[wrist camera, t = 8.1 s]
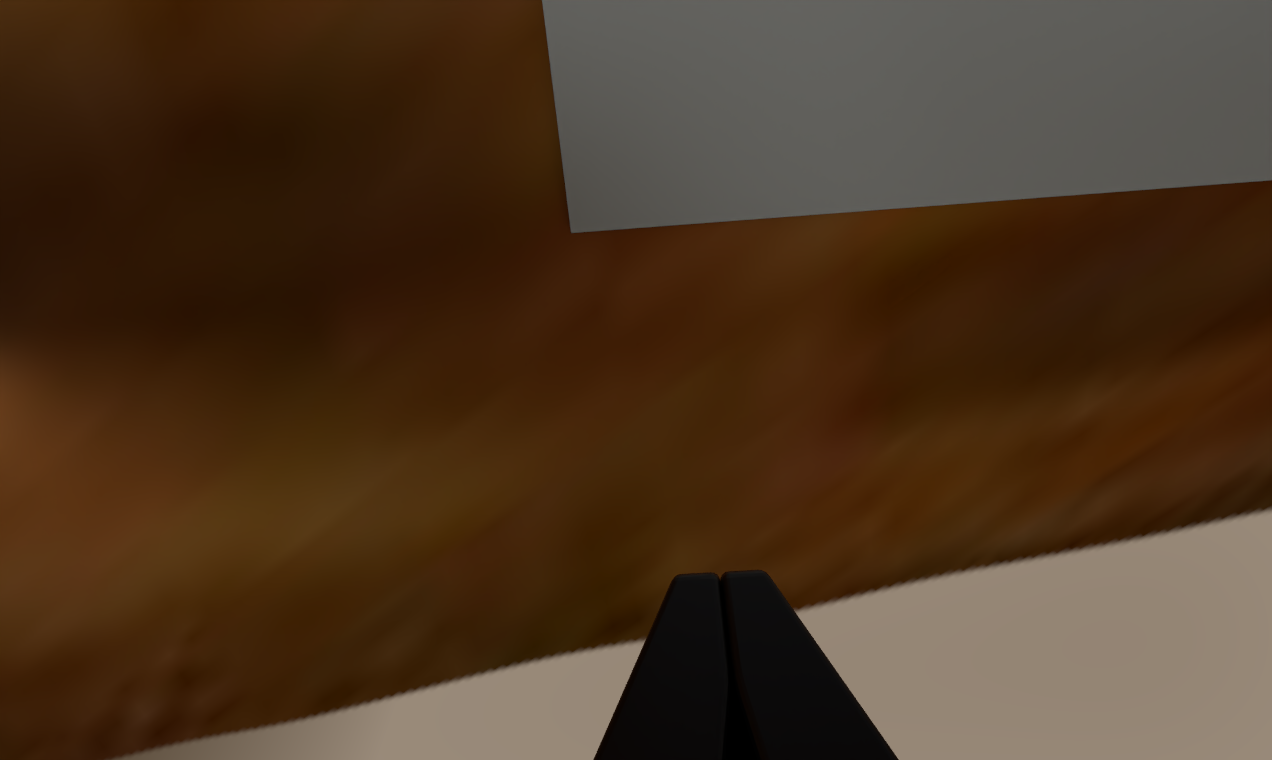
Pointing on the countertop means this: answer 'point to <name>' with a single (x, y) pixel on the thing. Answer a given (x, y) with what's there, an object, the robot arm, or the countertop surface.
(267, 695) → the countertop surface
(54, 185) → the countertop surface
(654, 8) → the slate mat
